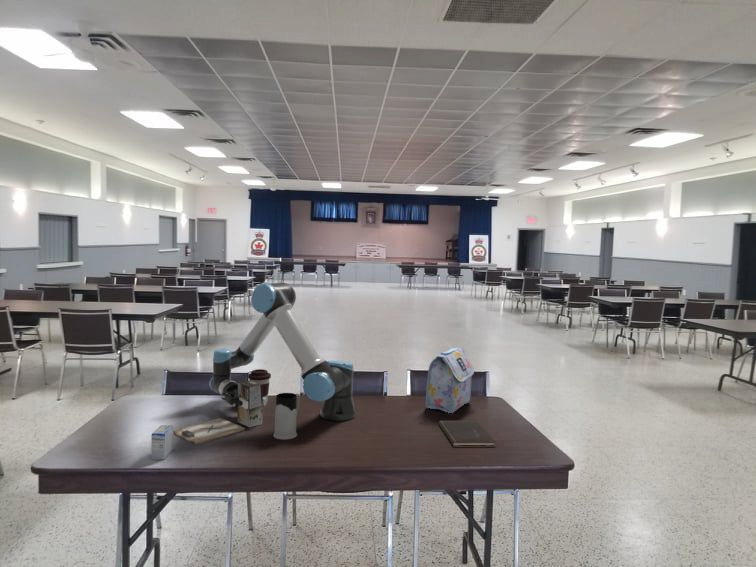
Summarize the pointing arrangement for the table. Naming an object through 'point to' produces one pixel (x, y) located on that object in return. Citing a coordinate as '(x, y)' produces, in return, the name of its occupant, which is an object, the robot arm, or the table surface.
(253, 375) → the coffee cup
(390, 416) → the table surface
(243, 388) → the coffee box
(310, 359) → the robot arm
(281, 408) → the grey mug
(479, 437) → the hardcover book
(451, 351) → the lunch bag
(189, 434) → the clipboard
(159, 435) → the medicine box
